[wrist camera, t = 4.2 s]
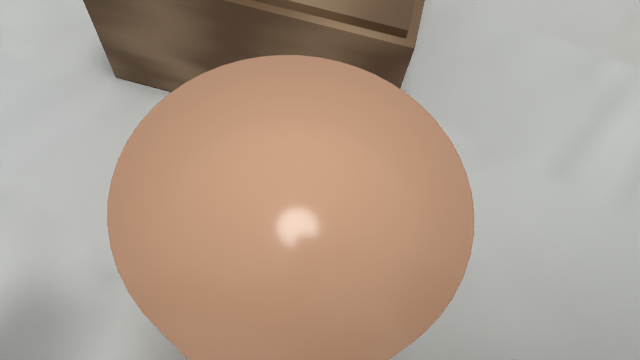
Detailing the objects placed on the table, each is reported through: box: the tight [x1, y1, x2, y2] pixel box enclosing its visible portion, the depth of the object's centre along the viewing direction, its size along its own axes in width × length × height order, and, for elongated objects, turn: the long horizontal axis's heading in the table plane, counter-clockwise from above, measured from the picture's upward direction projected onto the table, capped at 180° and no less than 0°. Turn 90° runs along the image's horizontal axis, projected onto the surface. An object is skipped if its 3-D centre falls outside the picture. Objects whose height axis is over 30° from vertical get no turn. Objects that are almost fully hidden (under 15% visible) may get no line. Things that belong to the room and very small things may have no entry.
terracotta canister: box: [107, 55, 474, 360], centre depth 13 cm, size 6×6×12 cm
